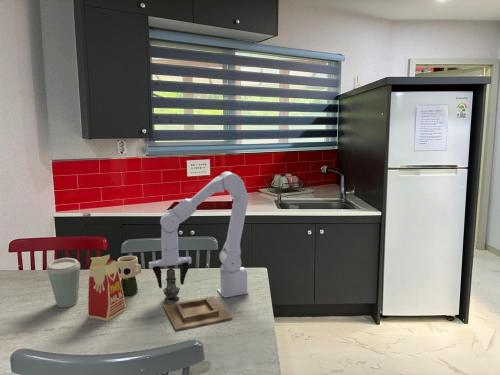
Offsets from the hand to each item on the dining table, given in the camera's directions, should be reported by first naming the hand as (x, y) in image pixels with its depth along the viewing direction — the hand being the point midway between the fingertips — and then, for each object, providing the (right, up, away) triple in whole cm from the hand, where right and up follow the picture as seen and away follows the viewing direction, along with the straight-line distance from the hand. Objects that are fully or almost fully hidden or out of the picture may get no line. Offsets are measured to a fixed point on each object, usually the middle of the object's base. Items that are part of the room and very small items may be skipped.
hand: (171, 285), depth 140 cm
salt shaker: (0, -5, +1) cm, 5 cm away
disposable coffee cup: (-36, -6, -3) cm, 36 cm away
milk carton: (-19, -7, -10) cm, 23 cm away
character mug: (-17, -5, +6) cm, 18 cm away
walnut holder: (+10, -7, -10) cm, 16 cm away
